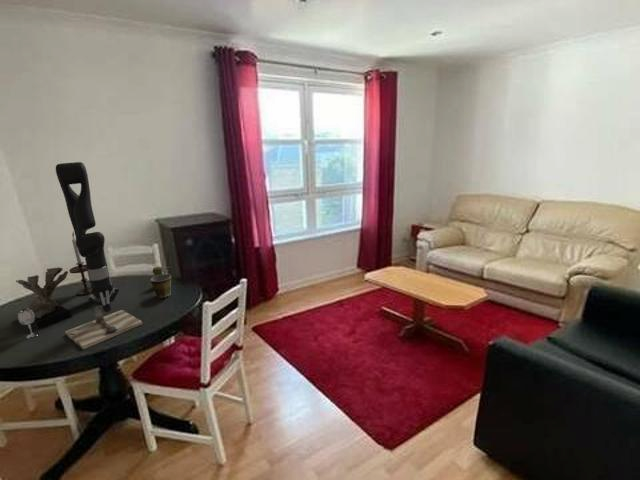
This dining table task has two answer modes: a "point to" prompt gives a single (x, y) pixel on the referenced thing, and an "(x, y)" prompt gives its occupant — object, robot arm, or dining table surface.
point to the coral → (46, 299)
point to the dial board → (102, 329)
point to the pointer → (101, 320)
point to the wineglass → (27, 319)
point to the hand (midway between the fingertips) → (107, 311)
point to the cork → (157, 271)
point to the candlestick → (80, 270)
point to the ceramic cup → (162, 285)
